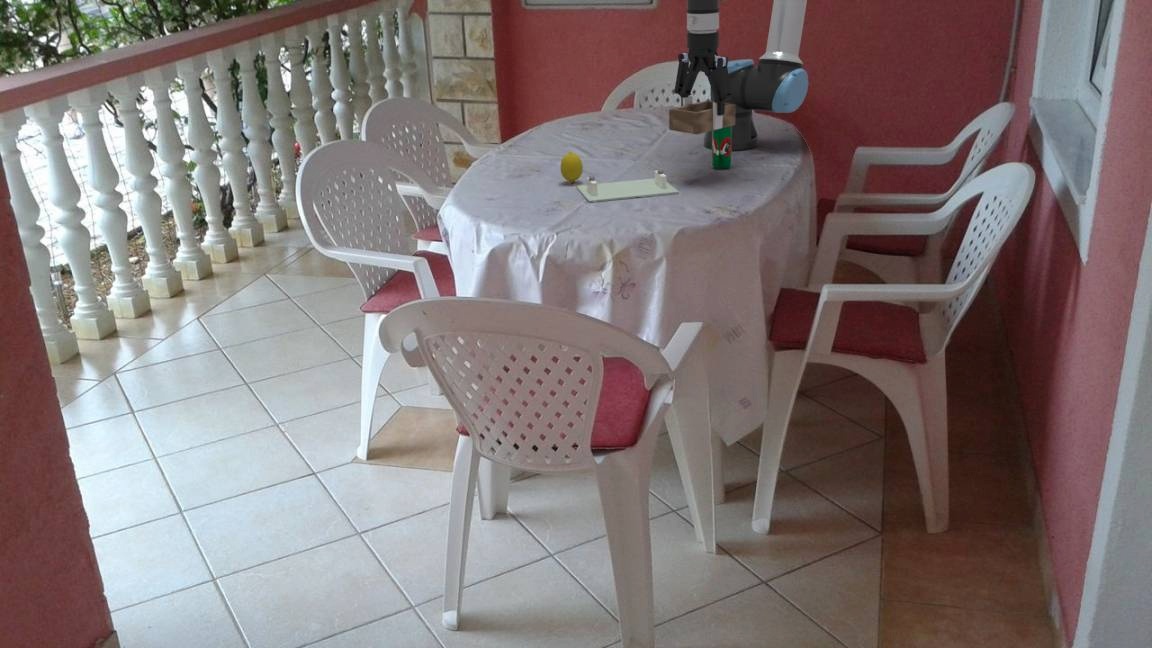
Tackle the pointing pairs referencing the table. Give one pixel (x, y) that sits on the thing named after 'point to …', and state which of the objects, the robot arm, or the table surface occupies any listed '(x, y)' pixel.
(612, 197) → the wall board
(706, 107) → the brown wooden open box
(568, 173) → the lemon
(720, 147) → the soda can
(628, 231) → the table surface
